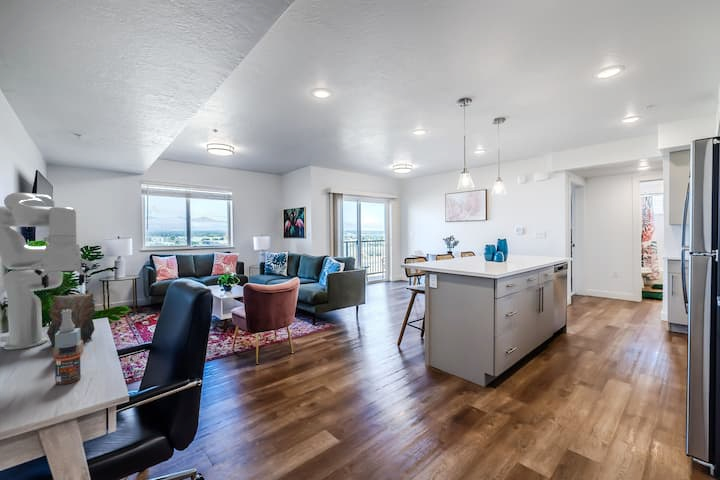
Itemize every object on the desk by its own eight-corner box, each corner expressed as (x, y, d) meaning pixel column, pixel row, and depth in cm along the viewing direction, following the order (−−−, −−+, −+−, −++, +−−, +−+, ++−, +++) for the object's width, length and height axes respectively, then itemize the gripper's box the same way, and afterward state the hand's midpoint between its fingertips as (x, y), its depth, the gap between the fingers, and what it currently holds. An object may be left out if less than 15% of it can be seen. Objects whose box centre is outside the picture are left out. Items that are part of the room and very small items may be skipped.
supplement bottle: (59, 387, 95) (57, 350, 95) (52, 382, 99) (51, 346, 98) (84, 379, 100) (83, 344, 100) (77, 375, 104) (76, 340, 103)
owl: (45, 345, 131) (43, 297, 131) (77, 335, 144) (75, 291, 143) (71, 347, 129) (69, 298, 129) (101, 337, 142) (99, 292, 141)
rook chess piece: (57, 333, 116) (55, 311, 115) (62, 330, 120) (61, 309, 119) (72, 331, 117) (71, 310, 117) (77, 328, 122) (76, 307, 121)
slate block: (55, 348, 114) (54, 334, 114) (59, 343, 119) (59, 330, 119) (77, 345, 117) (76, 331, 117) (80, 340, 123) (80, 327, 122)
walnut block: (53, 362, 114) (53, 349, 114) (59, 356, 120) (58, 343, 120) (79, 358, 118) (79, 345, 118) (83, 352, 124) (82, 339, 124)
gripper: (27, 241, 111) (28, 290, 111) (91, 240, 120) (92, 285, 121) (33, 240, 117) (34, 286, 118) (94, 239, 126) (95, 282, 127)
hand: (63, 286), depth 119 cm, fingers open, 9 cm apart
